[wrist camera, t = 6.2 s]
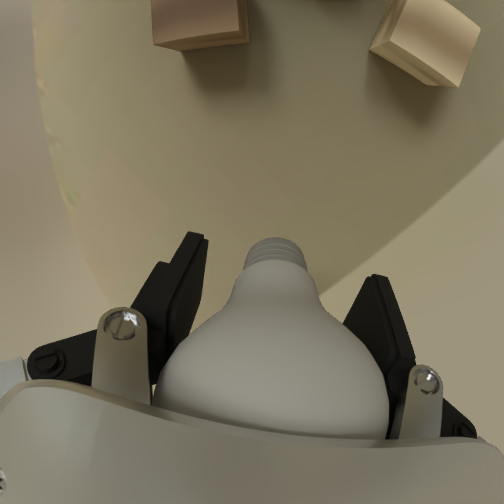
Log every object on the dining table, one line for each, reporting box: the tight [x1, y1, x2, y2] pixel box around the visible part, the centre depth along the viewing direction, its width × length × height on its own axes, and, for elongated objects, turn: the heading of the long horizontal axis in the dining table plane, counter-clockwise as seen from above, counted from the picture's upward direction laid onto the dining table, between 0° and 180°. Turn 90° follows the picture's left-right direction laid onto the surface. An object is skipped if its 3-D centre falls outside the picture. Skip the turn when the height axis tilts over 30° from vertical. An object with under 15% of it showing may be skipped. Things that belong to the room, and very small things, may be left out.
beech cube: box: [369, 0, 481, 87], centre depth 13 cm, size 5×5×5 cm
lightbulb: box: [152, 238, 389, 440], centre depth 9 cm, size 6×6×11 cm
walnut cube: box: [151, 0, 250, 52], centre depth 14 cm, size 5×5×5 cm
